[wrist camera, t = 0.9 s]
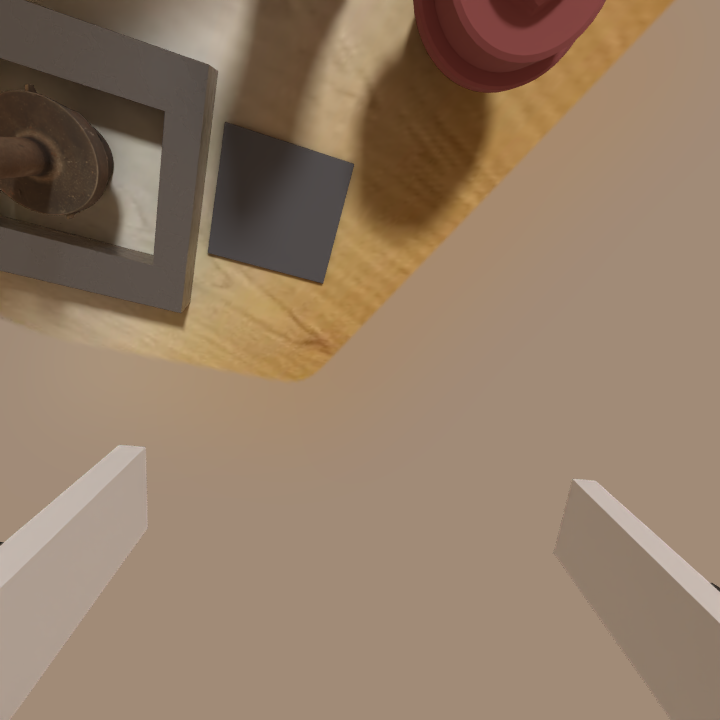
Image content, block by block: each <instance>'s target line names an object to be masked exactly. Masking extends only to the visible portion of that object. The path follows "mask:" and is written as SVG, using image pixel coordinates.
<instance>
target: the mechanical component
mask: <svg viewBox="0 0 720 720" xmlns="http://www.w3.org/2000/svg"><path fill="white" fill-rule="evenodd" d="M605 1H606V0H413V3H414V13H415V18H416V23H417V28H418V31H419V34H420V37H421V40H422V42H423V44H424V46H425V48H426V51H427V53H428V55H429V56H430V58H431V59H432V60H433V62H434V63H435V65H436V66H437V67H438V69H439V70H440V71H441V72H442V73H443V74H444V75H445V76H447V77H448V78H449V79H451V80H452V81H453V82H455V83H456V84H458V85H460V86H462V87H464V88H467V89H470V90H473V91H478V92H485V93H491V92H501V91H506V90H510V89H513V88H516V87H519V86H522V85H525V84H527V83H529V82H531V81H533V80H535V79H537V78H538V77H540V76H541V75H543V74H544V73H546V72H547V71H548V70H549V69H550V68H552V67H553V66H554V65H555V64H556V63H557V62H558V61H559V60H560V59H561V58H562V57H563V56H564V55H565V54H566V52H567V51H568V50H569V49H570V47H571V46H572V44H573V43H574V42H575V40H576V39H577V38H578V37H579V36H580V35H581V34H583V32H584V31H585V30H586V29H587V28H588V26H589V25H590V24H591V23H592V22H593V20H594V19H595V17H596V16H597V14H598V13H599V11H600V10H601V8H602V7H603V5H604V3H605Z"/></svg>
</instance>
